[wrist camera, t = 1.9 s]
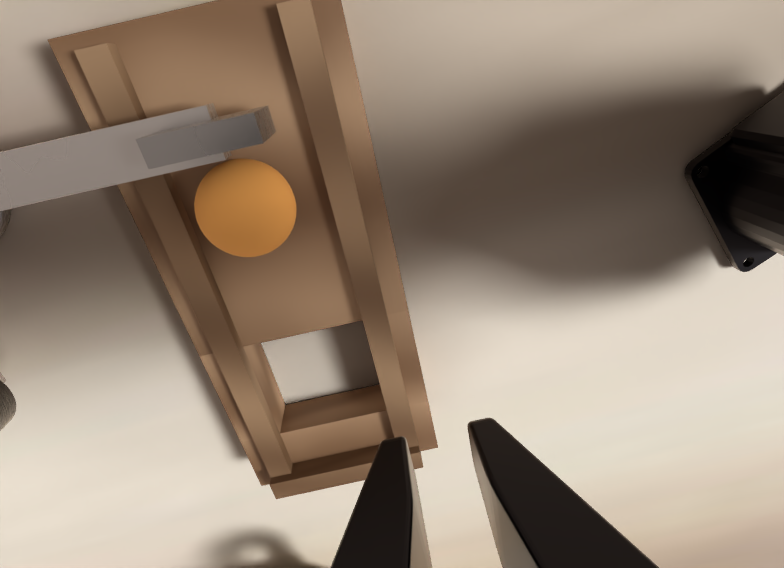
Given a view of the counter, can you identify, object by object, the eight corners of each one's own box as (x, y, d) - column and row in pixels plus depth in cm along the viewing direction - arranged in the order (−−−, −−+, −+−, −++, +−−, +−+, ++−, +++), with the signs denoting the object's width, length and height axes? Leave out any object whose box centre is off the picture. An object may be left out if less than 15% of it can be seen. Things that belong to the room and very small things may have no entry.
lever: (-245, 170, 14) (-1011, 306, 6) (252, 55, 14) (125, 43, 6) (-35, 423, 18) (-317, 687, 11) (340, 340, 18) (333, 547, 10)
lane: (82, 42, 16) (26, 38, 13) (336, -17, 16) (334, -34, 13) (267, 454, 25) (257, 502, 22) (431, 419, 24) (441, 463, 22)
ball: (319, 199, 17) (312, 228, 14) (258, 254, 17) (240, 291, 15) (252, 130, 16) (231, 145, 13) (190, 192, 16) (156, 219, 13)
